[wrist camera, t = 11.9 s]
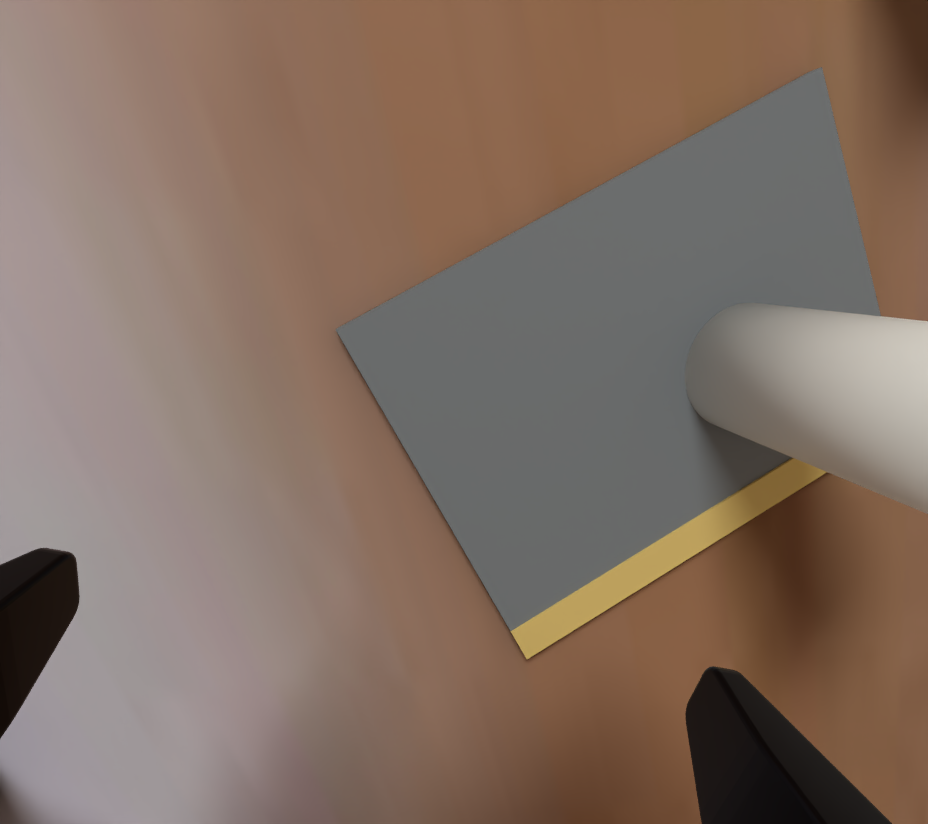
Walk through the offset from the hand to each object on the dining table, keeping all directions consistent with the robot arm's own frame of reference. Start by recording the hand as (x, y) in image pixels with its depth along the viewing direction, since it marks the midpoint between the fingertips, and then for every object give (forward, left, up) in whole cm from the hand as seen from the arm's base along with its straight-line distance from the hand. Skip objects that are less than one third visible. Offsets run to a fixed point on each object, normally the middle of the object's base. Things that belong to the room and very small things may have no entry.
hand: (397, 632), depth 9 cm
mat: (+10, -4, -12) cm, 16 cm away
